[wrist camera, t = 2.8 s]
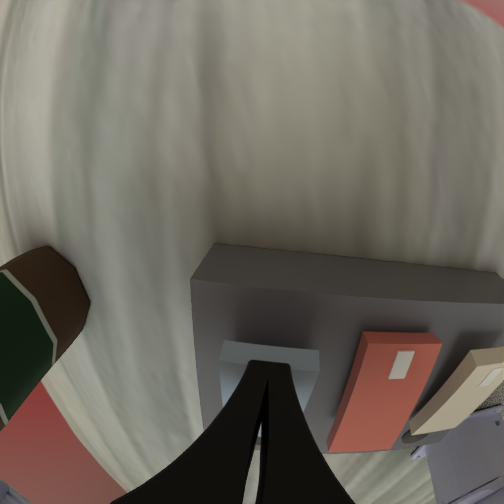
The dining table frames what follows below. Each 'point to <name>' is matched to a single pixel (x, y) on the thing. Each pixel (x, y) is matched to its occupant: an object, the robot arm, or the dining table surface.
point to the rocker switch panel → (337, 319)
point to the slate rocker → (300, 360)
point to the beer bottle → (35, 321)
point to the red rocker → (382, 389)
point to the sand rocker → (462, 391)
